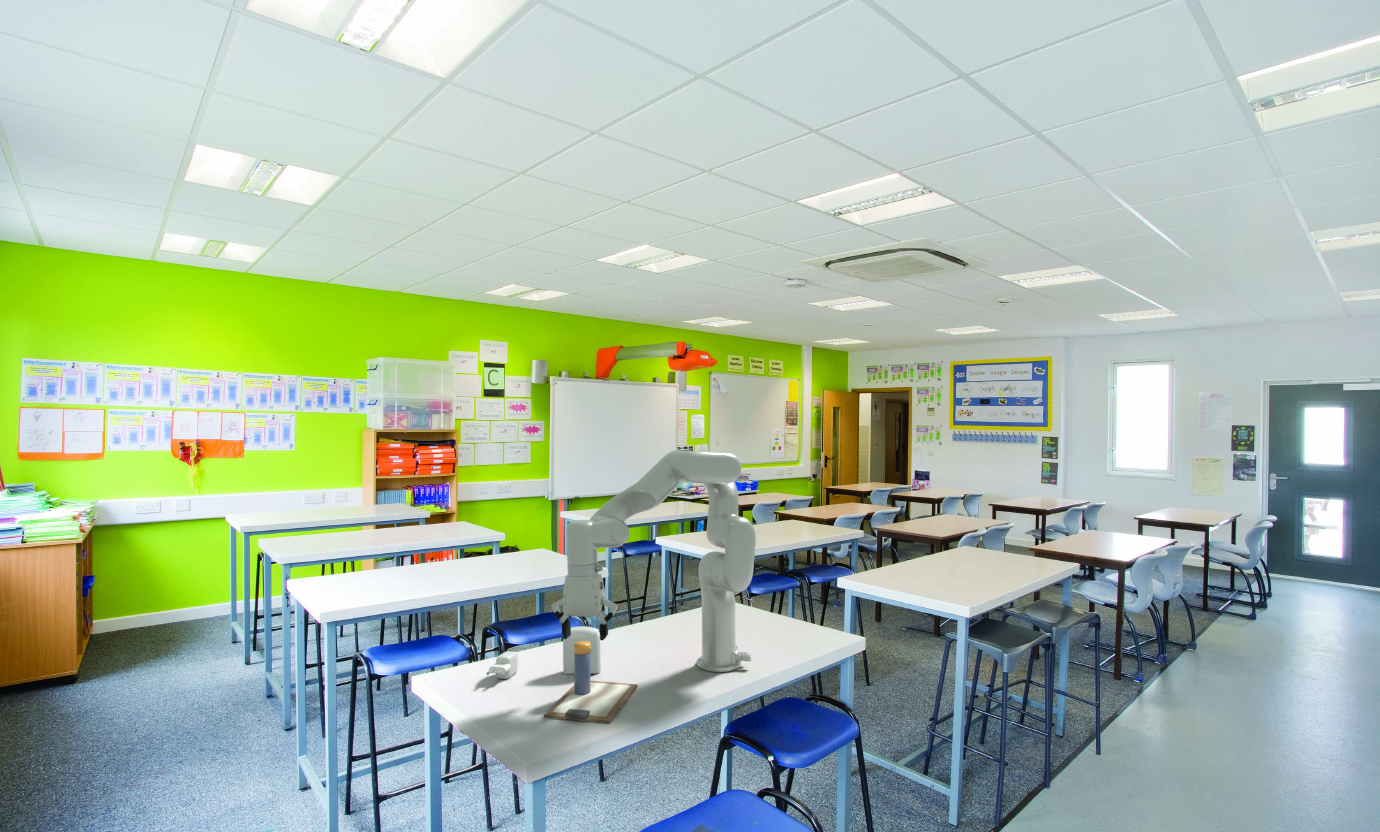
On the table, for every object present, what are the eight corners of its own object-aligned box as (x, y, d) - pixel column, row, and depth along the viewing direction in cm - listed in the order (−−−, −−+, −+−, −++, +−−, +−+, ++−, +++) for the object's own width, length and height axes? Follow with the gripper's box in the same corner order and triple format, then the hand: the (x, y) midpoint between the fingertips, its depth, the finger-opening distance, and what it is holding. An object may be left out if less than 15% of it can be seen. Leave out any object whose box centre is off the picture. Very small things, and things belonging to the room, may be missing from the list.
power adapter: (500, 687, 169) (500, 664, 169) (483, 686, 170) (483, 663, 170) (520, 672, 180) (520, 650, 180) (503, 671, 181) (503, 649, 181)
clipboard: (637, 686, 169) (637, 680, 169) (609, 723, 147) (609, 716, 147) (579, 681, 172) (579, 675, 172) (542, 718, 150) (542, 710, 150)
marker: (593, 689, 165) (593, 641, 166) (587, 695, 161) (587, 646, 161) (577, 687, 166) (577, 640, 166) (571, 694, 162) (571, 645, 162)
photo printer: (561, 675, 177) (561, 629, 178) (564, 669, 182) (564, 624, 182) (599, 675, 177) (599, 629, 178) (601, 669, 182) (601, 624, 182)
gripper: (620, 566, 166) (622, 634, 166) (556, 566, 170) (559, 632, 170) (610, 573, 159) (613, 644, 159) (544, 572, 163) (546, 641, 163)
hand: (585, 637), depth 164 cm, fingers open, 9 cm apart
